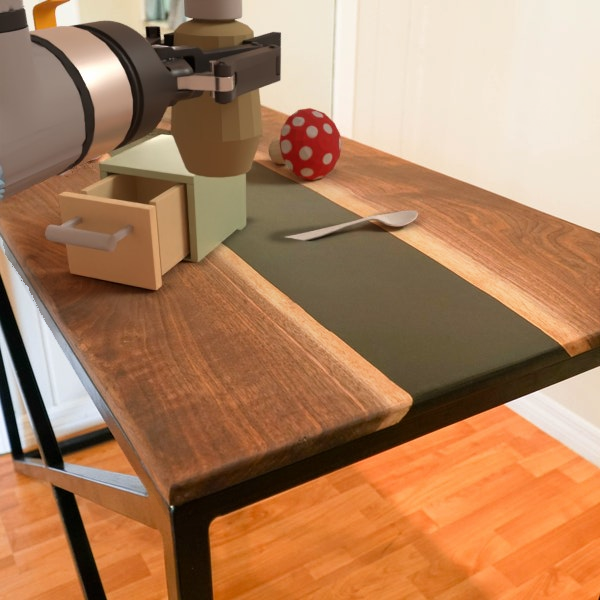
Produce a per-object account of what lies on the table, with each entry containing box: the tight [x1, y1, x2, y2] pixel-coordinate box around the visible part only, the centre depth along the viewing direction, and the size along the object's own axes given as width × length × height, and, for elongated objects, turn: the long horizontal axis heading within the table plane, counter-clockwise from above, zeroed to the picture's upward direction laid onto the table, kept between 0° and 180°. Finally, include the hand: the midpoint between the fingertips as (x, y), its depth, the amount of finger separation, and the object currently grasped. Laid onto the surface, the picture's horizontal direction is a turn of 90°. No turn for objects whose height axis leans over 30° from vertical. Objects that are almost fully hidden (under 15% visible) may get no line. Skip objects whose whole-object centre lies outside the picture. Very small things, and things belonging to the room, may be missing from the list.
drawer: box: [44, 173, 191, 291], centre depth 70 cm, size 17×11×9 cm, turn 161°
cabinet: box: [98, 133, 247, 263], centre depth 80 cm, size 14×12×11 cm
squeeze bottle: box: [170, 0, 264, 178], centre depth 55 cm, size 8×8×18 cm
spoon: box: [285, 209, 419, 242], centre depth 85 cm, size 4×21×2 cm, turn 114°
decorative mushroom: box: [268, 107, 342, 181], centre depth 105 cm, size 11×11×15 cm
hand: (239, 45), depth 59 cm, fingers closed on squeeze bottle, 6 cm apart
